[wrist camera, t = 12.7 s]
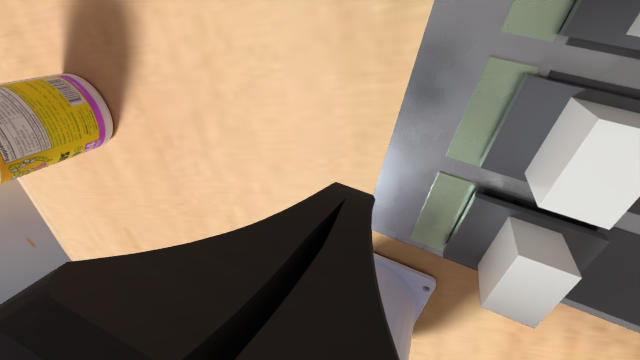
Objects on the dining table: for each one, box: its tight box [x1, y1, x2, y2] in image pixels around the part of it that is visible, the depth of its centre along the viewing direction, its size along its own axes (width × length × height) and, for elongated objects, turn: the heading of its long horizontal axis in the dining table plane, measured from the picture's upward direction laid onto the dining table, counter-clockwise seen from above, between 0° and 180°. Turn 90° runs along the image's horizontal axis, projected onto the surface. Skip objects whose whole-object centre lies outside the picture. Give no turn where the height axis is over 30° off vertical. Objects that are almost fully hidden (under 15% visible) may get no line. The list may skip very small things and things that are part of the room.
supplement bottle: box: [0, 74, 113, 184], centre depth 23 cm, size 7×7×13 cm
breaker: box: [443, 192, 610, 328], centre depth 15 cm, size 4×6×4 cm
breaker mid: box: [480, 73, 640, 230], centre depth 12 cm, size 4×6×4 cm
